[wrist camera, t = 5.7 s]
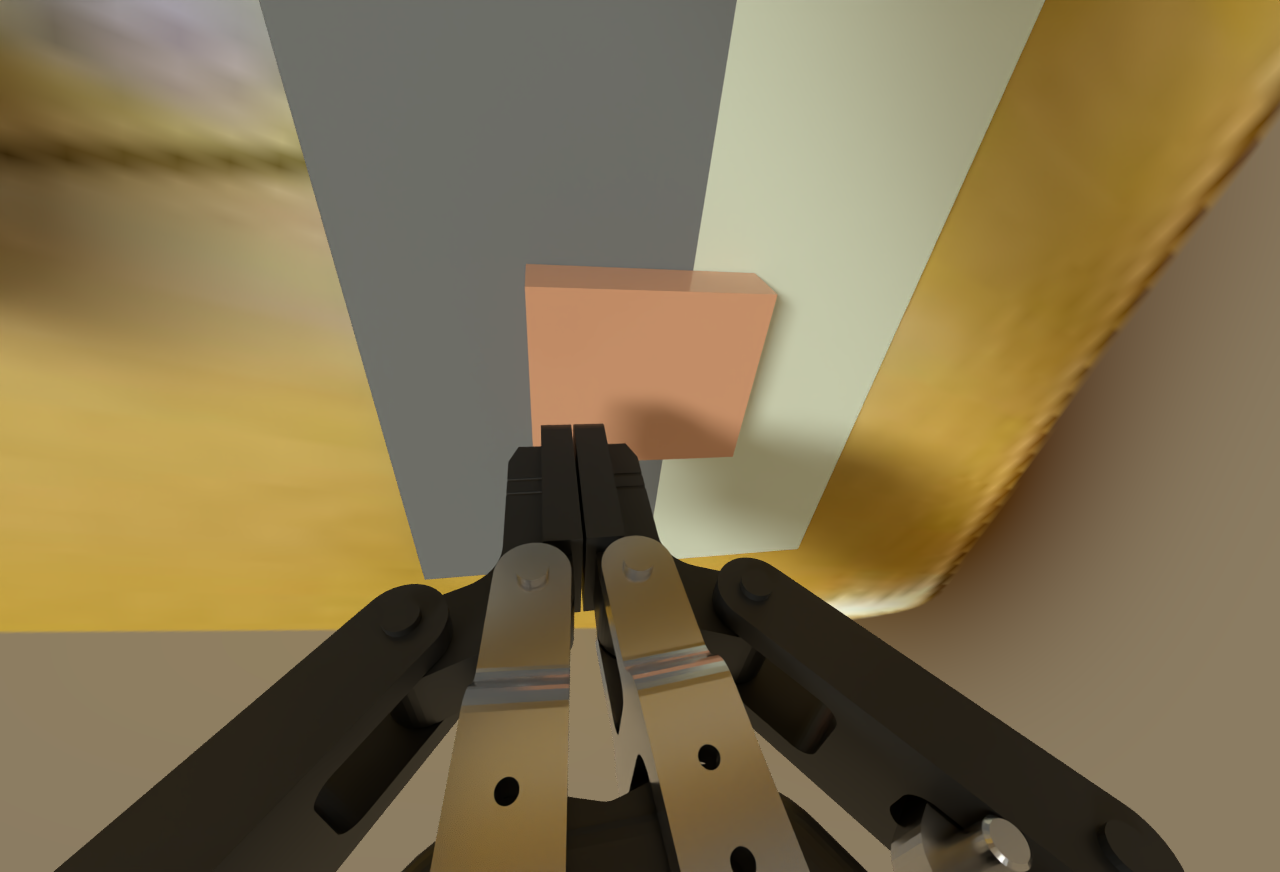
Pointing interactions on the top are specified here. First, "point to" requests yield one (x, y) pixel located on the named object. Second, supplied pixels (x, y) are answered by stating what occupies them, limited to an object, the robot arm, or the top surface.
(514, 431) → the mat
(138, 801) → the robot arm
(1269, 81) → the top surface
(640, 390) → the tile
